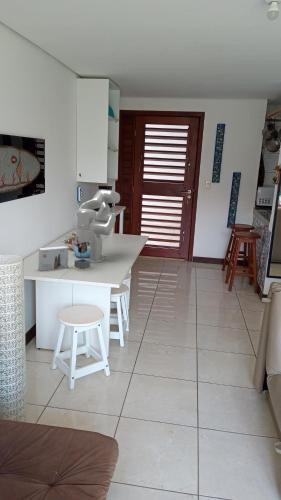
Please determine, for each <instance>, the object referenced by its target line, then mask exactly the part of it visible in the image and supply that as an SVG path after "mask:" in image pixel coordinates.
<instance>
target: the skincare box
mask: <svg viewBox="0 0 281 500" xmlns="http://www.w3.org/2000/svg"><path fill="white" fill-rule="evenodd" d="M68 264H69V247H68V246H67V245H64V246H63V245H61V246H53V247H50V246H49V247H40V248H38V267H37V269H38V270H39V271H40V272H45V271H53V270H61V268H62V269H68V268H69V266H68ZM67 267H68V268H67Z"/></svg>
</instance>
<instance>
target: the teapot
mask: <svg viewBox="0 0 281 500" xmlns="http://www.w3.org/2000/svg"><path fill="white" fill-rule="evenodd" d="M71 245H72V247H73V248H72V249H73V253H74V255H75V256H76V258H78V259H79V258H80V259H88V258H90V247H89V245H88V246H87V252H85V253H79V252H78V247H77V248H76V244H75V243H71Z"/></svg>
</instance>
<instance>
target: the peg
mask: <svg viewBox="0 0 281 500" xmlns="http://www.w3.org/2000/svg"><path fill="white" fill-rule="evenodd" d="M85 250H86V243H82V244H81V253H85ZM79 253H80V252H79Z"/></svg>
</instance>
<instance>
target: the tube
mask: <svg viewBox="0 0 281 500" xmlns="http://www.w3.org/2000/svg"><path fill="white" fill-rule="evenodd" d="M72 267H73V269H74V270H76V271H79V272H82V271H88V270H92V269H93V267H91V262H90V261H88V259H86V258H80V259H75V260H74V266H72Z"/></svg>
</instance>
